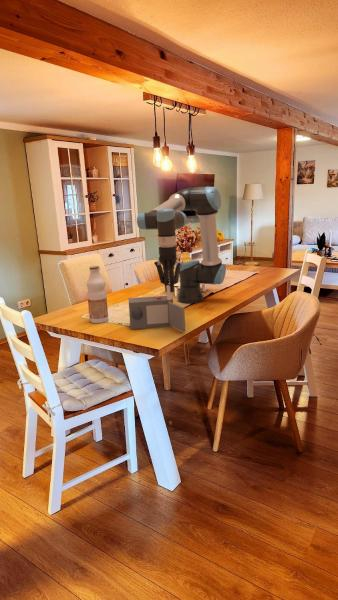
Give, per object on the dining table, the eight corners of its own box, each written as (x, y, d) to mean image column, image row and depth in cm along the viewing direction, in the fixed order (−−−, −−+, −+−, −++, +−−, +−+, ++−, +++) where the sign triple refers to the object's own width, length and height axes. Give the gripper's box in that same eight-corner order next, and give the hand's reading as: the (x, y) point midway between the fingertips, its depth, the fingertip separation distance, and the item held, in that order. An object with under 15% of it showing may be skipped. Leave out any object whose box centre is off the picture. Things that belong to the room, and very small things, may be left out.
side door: (168, 326, 188) (167, 301, 185) (171, 325, 189) (170, 301, 186) (182, 333, 178) (181, 307, 175) (185, 332, 178) (184, 306, 175)
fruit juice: (97, 324, 196) (92, 268, 189) (86, 321, 203) (80, 267, 196) (112, 320, 203) (107, 265, 196) (100, 317, 209) (96, 264, 202)
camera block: (168, 320, 198) (167, 293, 194) (171, 327, 188) (169, 299, 184) (130, 323, 196) (128, 296, 192) (130, 330, 186) (128, 301, 182)
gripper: (149, 246, 170) (153, 300, 176) (176, 247, 164) (179, 302, 170) (158, 244, 176) (161, 295, 183) (184, 244, 170) (187, 298, 177)
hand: (170, 299), depth 177 cm, fingers closed
